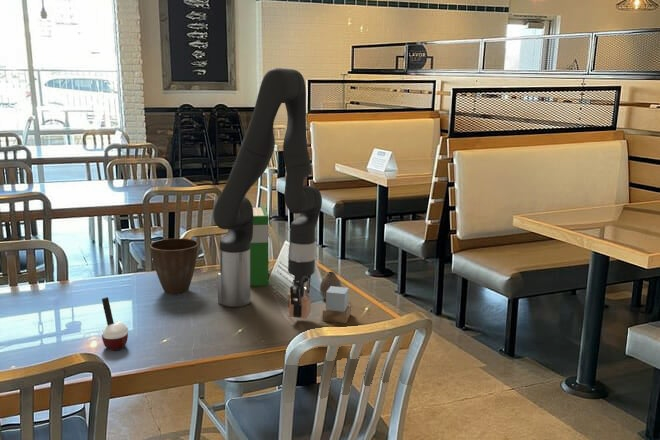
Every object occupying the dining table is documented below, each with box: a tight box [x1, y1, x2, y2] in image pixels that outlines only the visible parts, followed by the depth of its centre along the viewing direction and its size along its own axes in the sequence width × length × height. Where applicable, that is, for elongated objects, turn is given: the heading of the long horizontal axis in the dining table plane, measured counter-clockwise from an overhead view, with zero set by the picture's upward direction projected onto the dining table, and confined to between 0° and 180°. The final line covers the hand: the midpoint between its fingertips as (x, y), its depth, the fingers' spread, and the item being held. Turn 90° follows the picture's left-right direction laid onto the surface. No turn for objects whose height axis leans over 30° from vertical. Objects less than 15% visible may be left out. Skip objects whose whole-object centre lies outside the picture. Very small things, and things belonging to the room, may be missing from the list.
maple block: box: [286, 290, 291, 308], centre depth 193 cm, size 4×4×4 cm
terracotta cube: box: [288, 295, 312, 320], centre depth 179 cm, size 5×5×5 cm
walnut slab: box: [322, 303, 352, 324], centre depth 184 cm, size 7×7×4 cm
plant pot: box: [149, 238, 199, 296], centre depth 201 cm, size 15×15×16 cm
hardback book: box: [250, 204, 269, 287], centre depth 216 cm, size 18×7×24 cm, turn 11°
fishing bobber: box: [101, 297, 129, 351], centre depth 160 cm, size 10×6×12 cm, turn 22°
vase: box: [319, 271, 343, 301], centre depth 198 cm, size 7×7×9 cm
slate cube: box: [325, 286, 350, 312], centre depth 183 cm, size 6×6×6 cm
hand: (299, 312), depth 180 cm, fingers closed on terracotta cube, 5 cm apart
